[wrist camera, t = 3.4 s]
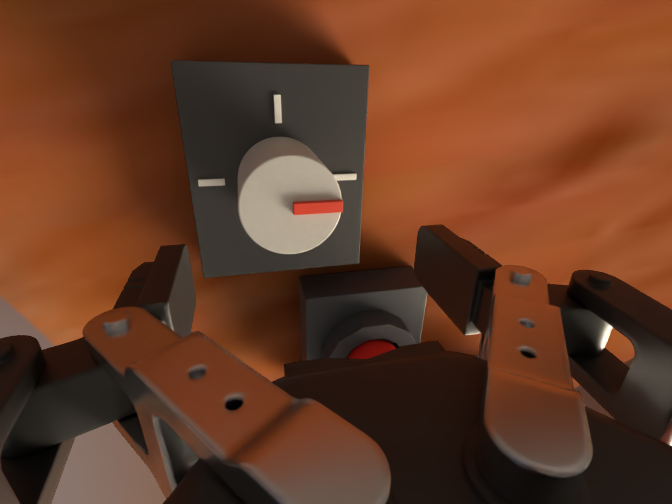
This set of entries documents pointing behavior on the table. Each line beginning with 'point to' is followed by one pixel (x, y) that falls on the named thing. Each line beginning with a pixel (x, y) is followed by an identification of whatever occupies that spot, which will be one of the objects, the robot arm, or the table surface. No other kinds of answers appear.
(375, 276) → the button housing
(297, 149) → the dial
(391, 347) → the power button
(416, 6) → the table surface
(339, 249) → the dial panel
